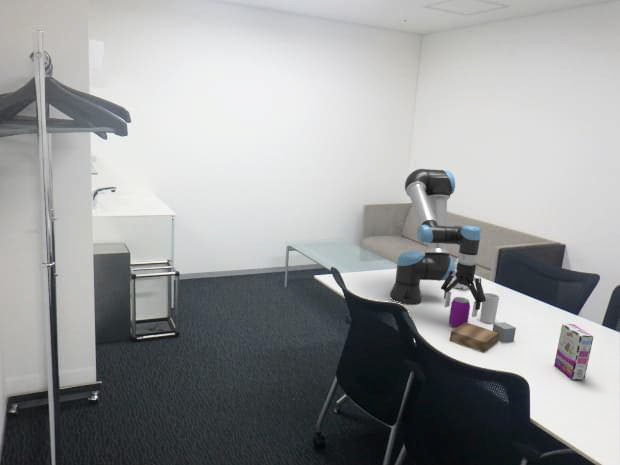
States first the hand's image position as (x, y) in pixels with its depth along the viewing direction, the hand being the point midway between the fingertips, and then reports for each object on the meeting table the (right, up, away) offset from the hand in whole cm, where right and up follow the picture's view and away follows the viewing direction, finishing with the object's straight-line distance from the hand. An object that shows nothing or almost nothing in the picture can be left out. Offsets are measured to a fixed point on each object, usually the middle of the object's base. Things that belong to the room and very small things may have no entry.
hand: (460, 311), depth 208 cm
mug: (+15, -6, +12) cm, 21 cm away
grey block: (+15, -10, -9) cm, 20 cm away
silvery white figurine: (+18, +4, +60) cm, 63 cm away
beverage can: (-1, -7, +2) cm, 7 cm away
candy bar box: (+28, -16, -34) cm, 47 cm away
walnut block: (+1, -10, -13) cm, 16 cm away
